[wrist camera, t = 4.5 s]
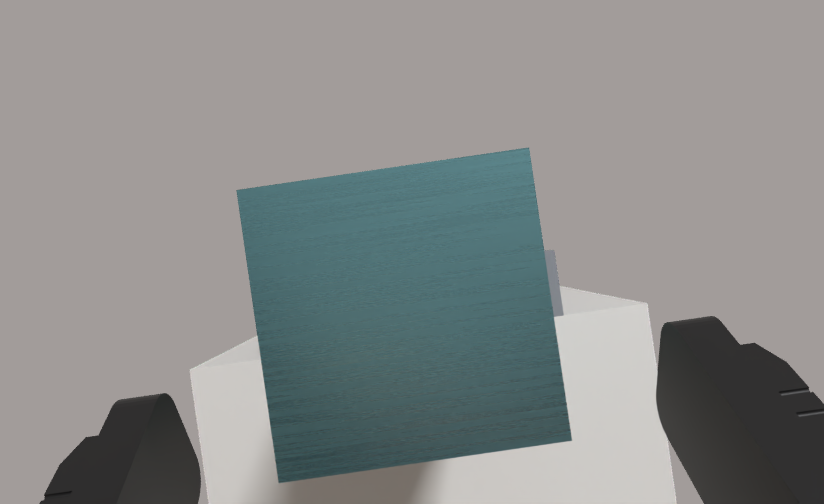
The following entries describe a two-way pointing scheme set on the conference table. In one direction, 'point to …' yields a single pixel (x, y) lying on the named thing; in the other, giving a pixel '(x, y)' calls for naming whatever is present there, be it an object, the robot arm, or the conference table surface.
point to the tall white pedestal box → (483, 473)
